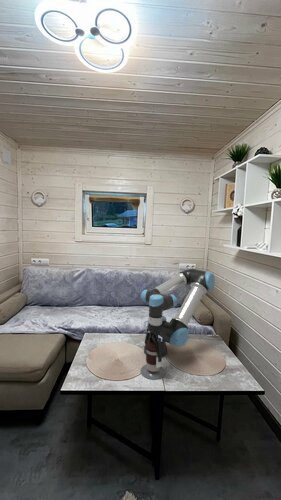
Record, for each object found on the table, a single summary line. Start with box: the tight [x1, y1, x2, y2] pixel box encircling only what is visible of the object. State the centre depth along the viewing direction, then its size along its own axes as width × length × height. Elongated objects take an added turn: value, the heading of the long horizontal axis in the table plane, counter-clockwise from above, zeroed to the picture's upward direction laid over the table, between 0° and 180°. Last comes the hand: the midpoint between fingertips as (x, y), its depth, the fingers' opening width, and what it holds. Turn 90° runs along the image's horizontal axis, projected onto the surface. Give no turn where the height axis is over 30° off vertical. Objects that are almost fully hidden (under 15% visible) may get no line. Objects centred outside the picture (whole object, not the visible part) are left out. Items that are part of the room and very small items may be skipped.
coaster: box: [140, 364, 167, 381], centre depth 139 cm, size 14×14×1 cm
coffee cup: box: [144, 340, 160, 372], centre depth 138 cm, size 10×10×15 cm
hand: (153, 362), depth 139 cm, fingers closed on coffee cup, 10 cm apart
